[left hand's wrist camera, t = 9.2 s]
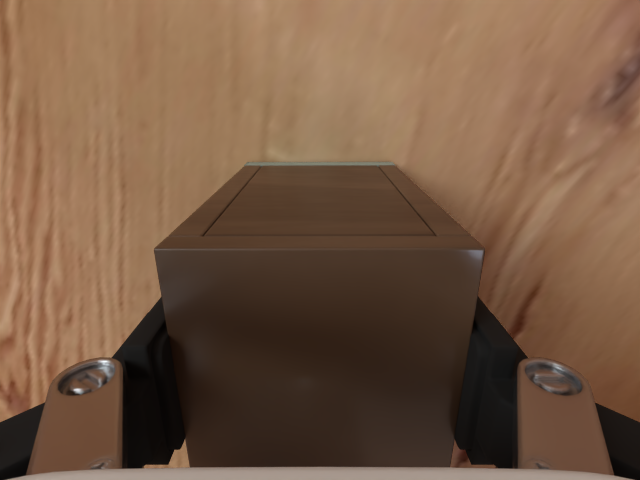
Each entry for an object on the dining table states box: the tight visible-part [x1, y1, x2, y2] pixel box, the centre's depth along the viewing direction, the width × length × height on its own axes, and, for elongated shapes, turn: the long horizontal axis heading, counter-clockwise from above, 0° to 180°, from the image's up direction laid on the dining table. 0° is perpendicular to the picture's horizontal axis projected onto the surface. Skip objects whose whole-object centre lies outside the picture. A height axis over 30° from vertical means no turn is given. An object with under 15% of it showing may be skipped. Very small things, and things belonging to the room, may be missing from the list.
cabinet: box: [154, 162, 485, 468], centre depth 16 cm, size 17×7×11 cm, turn 0°
